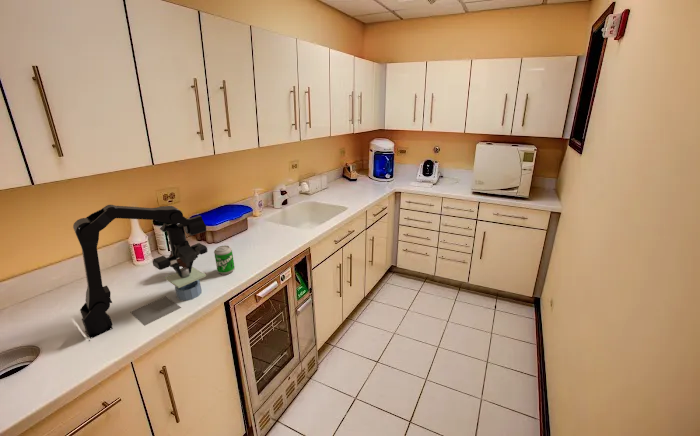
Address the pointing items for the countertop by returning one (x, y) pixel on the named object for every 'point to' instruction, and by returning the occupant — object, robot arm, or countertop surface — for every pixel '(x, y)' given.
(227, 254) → the soda can
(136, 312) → the rubber mat
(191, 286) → the bowl
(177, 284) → the cover
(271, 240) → the countertop surface
